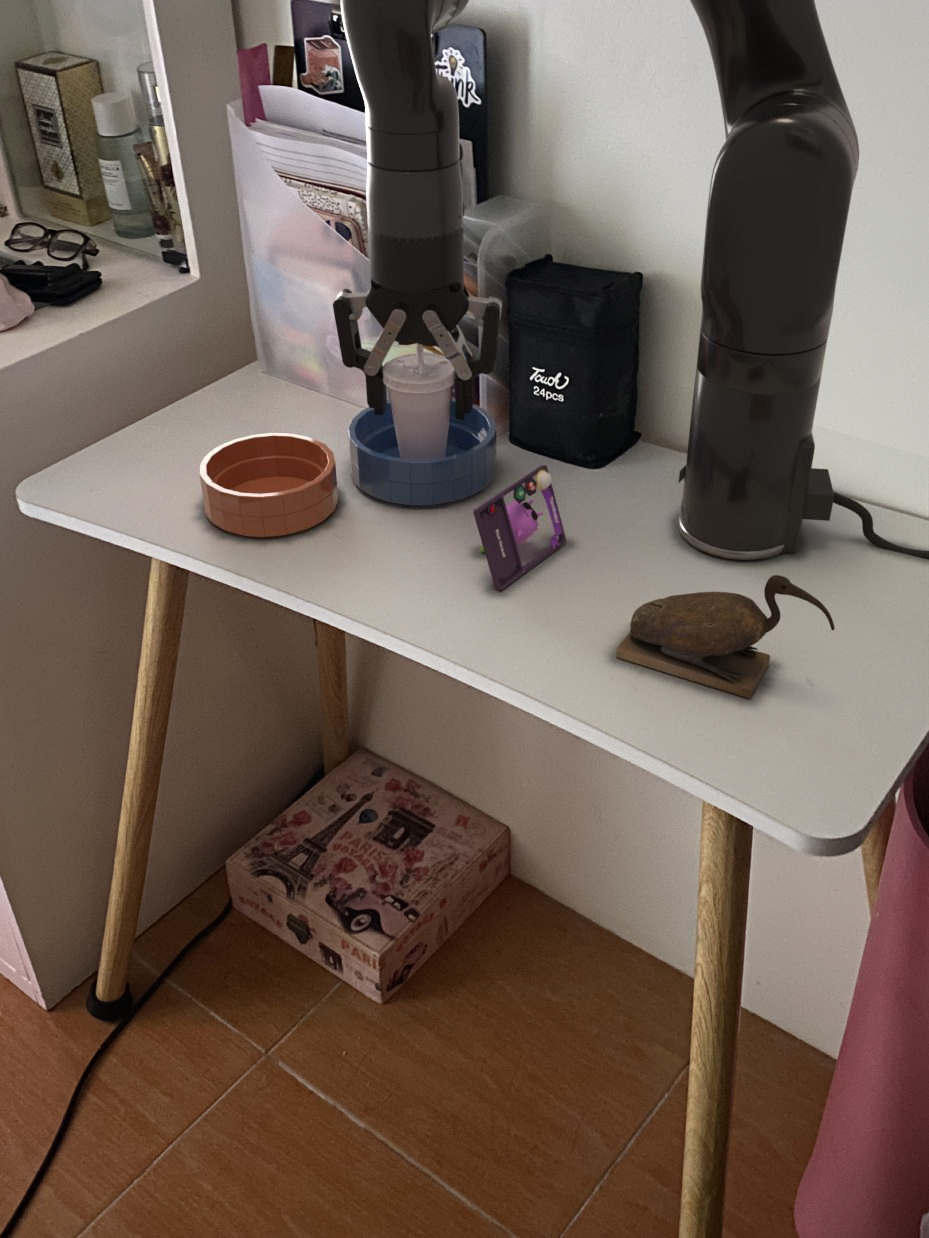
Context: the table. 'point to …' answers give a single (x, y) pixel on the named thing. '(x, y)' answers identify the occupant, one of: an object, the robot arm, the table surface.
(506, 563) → the purple framed piece
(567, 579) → the table surface
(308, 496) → the terracotta bowl
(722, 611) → the figurine
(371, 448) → the blue bowl
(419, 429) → the smoothie
